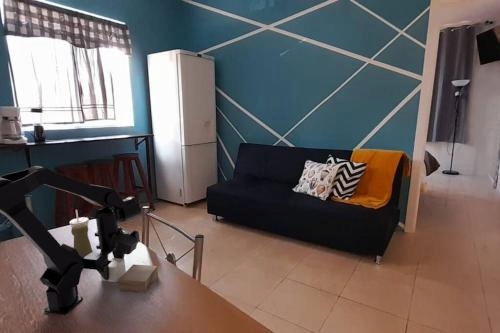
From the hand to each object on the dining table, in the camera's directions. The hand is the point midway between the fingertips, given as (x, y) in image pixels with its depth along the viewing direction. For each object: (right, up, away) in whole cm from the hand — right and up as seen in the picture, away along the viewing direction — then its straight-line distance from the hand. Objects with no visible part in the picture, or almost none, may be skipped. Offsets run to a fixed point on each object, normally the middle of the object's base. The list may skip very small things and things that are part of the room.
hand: (113, 273), depth 89 cm
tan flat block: (+10, -2, -3) cm, 10 cm away
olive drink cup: (-18, +2, +14) cm, 23 cm away
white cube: (0, -1, 0) cm, 1 cm away
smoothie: (-23, +3, +22) cm, 32 cm away
